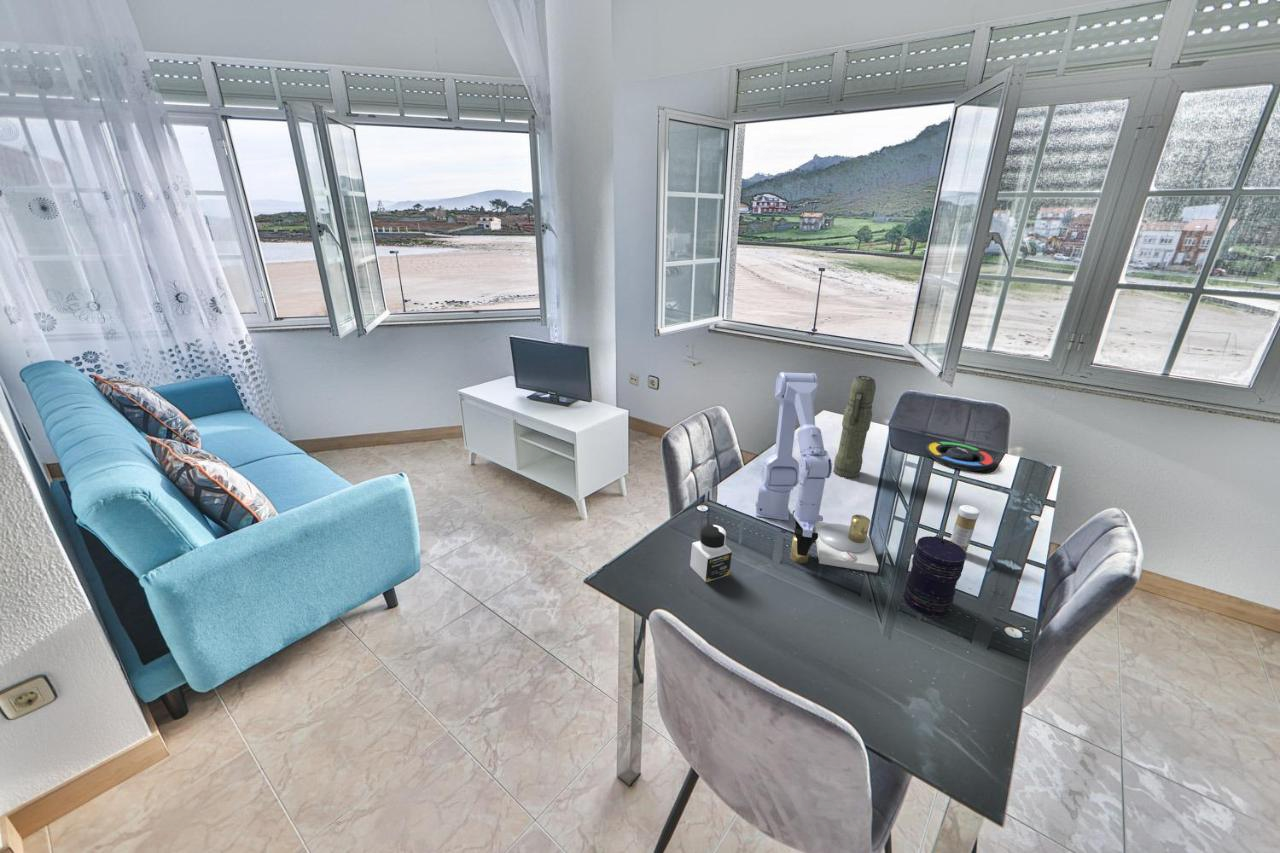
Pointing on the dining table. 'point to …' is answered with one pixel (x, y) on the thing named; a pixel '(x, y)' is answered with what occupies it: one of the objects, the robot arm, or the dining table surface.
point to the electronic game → (960, 456)
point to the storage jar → (934, 576)
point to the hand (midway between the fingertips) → (801, 546)
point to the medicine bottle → (711, 554)
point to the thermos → (855, 427)
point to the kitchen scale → (843, 548)
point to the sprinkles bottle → (964, 526)
